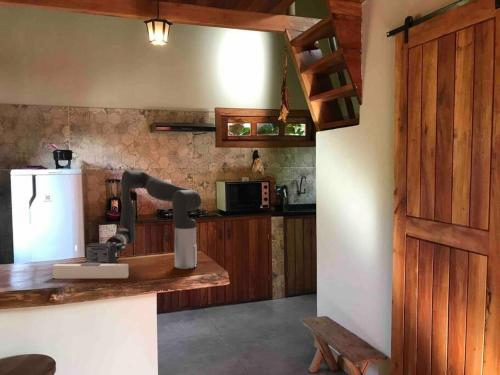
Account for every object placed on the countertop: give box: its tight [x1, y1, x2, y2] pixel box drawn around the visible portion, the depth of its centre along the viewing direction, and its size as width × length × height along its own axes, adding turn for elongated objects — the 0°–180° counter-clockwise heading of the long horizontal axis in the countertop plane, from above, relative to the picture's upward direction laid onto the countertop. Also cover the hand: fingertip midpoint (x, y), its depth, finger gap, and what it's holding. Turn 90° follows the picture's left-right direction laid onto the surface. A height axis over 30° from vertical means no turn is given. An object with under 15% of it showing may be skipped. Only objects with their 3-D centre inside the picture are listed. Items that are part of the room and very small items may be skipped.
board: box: [52, 262, 130, 280], centre depth 152 cm, size 28×3×5 cm, turn 94°
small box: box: [85, 242, 117, 264], centre depth 165 cm, size 11×6×10 cm, turn 84°
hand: (105, 251), depth 170 cm, fingers closed
